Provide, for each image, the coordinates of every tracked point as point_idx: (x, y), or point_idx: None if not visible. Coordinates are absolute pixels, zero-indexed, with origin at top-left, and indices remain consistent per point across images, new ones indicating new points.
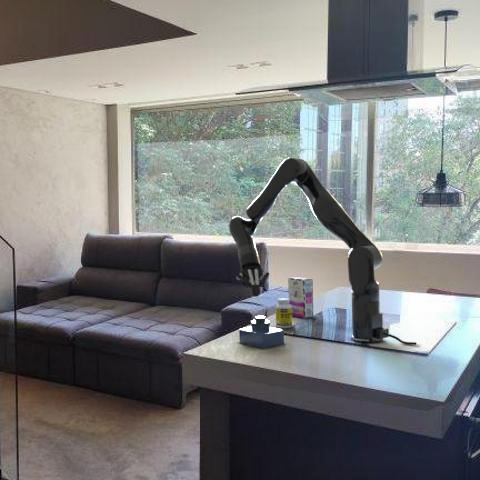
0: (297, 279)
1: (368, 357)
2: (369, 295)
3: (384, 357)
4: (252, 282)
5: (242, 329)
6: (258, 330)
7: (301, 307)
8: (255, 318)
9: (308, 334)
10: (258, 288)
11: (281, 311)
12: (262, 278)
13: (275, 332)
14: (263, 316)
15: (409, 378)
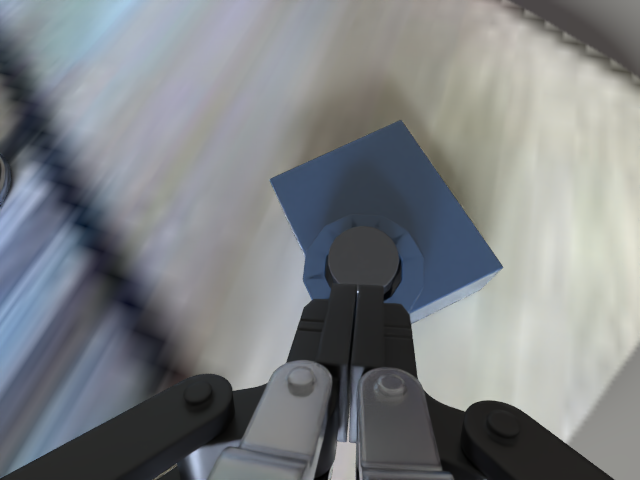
0: None
1: (118, 13)
2: None
3: (81, 7)
4: (394, 412)
5: (484, 250)
6: (397, 202)
7: None
8: (398, 258)
9: (91, 360)
10: (310, 341)
11: None
12: (119, 472)
13: (321, 157)
14: (335, 271)
15: None
